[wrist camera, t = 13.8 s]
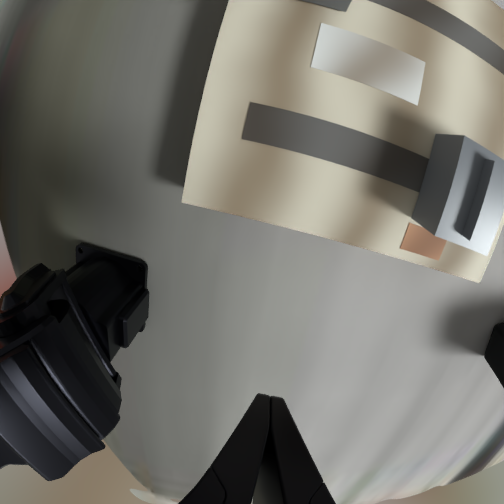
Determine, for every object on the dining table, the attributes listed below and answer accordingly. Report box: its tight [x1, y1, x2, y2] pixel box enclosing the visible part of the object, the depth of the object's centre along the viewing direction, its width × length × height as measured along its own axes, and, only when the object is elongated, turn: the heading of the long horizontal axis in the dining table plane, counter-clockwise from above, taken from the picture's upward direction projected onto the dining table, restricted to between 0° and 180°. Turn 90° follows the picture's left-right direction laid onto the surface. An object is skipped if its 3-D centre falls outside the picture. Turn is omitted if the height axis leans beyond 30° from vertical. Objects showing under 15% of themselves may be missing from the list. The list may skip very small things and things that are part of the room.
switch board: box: [182, 0, 504, 283], centre depth 13 cm, size 20×20×3 cm
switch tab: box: [411, 134, 504, 256], centre depth 12 cm, size 4×5×4 cm
